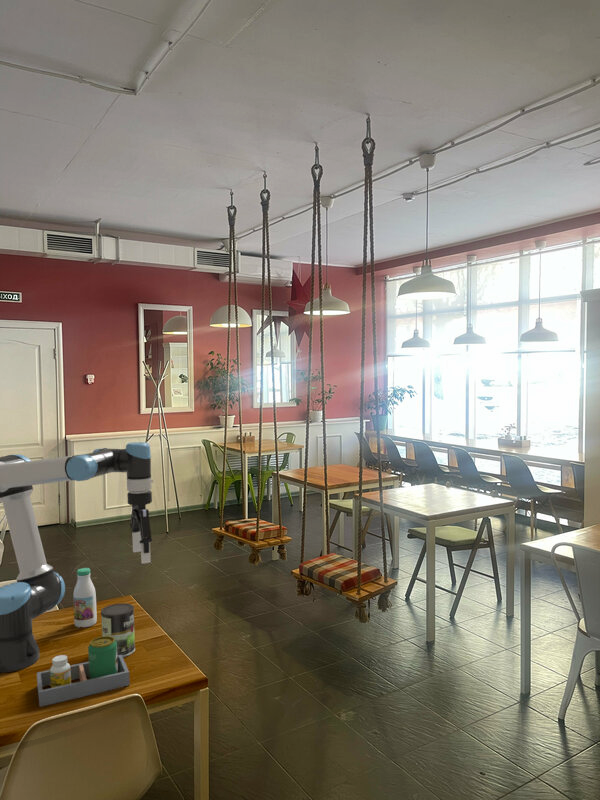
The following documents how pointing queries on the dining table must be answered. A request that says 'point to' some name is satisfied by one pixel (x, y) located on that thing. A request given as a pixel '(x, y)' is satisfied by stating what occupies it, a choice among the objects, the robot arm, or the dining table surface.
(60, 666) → the supplement bottle
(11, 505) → the robot arm
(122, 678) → the caddy
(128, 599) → the dining table surface
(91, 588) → the milk bottle
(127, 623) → the coffee can
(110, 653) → the beverage can
